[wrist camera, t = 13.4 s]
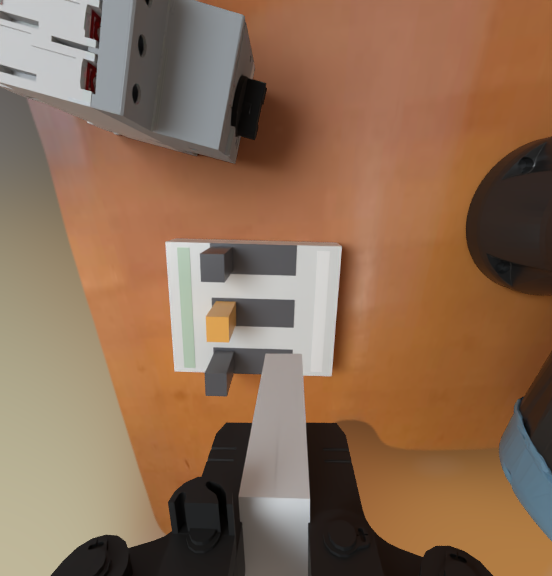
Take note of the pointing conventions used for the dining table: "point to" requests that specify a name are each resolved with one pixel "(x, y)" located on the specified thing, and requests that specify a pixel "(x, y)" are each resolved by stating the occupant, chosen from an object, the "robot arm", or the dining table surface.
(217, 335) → the block
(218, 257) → the block
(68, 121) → the dining table surface
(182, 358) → the panel
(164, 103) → the circuit breaker
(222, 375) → the block
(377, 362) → the dining table surface
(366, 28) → the dining table surface
